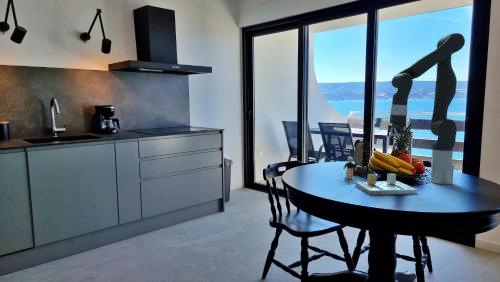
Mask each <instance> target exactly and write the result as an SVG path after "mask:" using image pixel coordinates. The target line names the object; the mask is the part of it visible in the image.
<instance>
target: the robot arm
mask: <svg viewBox="0 0 500 282" xmlns="http://www.w3.org/2000/svg"><path fill="white" fill-rule="evenodd" d="M465 43H466V39H465V36H464V35H463V34H461V33H458V32H454V33H450V34H446V35H443V36H441V37H440V38H439V39H438V41H437V44H436V48H435V49H434V50H433V51H431V52H429V53H428V54H426V55H424V56H422V57H420V58H419V59H417V60H416V61H415V62H414V63H412V64H411V65H410V66H408V67H407V68H405V69H403V70H402V71H400V72H398V73H396V74H395V75H394V76H393V77H392V79H391V85H392V87H393V88H395V89H397V91H396V92H395V93H394V94H393V95H392V101H391V107H390V115H389V124H388V125H387V133H386V136H387V137H388V138H389V139H388V146H394V142H395V137H397V139H398V140H397V146H396V147H397V148H400V149H401V148H403V143H404V140H406V139H407V134H408V127H407V126H404V125H406V124H407V115H408V100H409V96H410V94H411V91H412V87H413V83H414V81H413V80H415V79H418V78H420V77H421V76H423V75H424V74H425V73H426V72H428V71H429V70H430V69H431V68H433V67H434V66H436V78H435V85H434V87H435V88H434V100H433V101H434V102H433V110H432V116H431V120H430V132H431V133H432V134H433V135H434V136H437V140H436V142H434V143H433V144H432V147H431V149H432V151H431V166H430V167H431V168H430V182H431V183H432V184H439V185H451V184H453V183H454V182H453V181H454V169H455V167H454V166H455V165H454V164H453V155H454V154H453V151H454V147H455V145H456V141H457V140H456V138H457V137H456V136H457V128H458V127H457V124H456V122H455V121H454V120H453V119H451V118H448V111H449V106H450V105H451V103H452V102H453V99H454V97H455V95H456V92H457V83H458V82H457V76H456V74H455V71H454V69H453V66H452V57H453V56H452V55H454V54H455V53H457V52H459V51H460V50H462V49H463V48H464V46H465Z"/></svg>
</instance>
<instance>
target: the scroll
mask: <svg viewBox="0 0 500 282" xmlns="http://www.w3.org/2000/svg"><path fill="white" fill-rule="evenodd" d="M353 144H354V145H353V146H354V152H353V153H354V157H353V159H354V161H353V162H354V163H353V164H355V165H356V166H357V170H355V168H353V174H356V175H359V176H360V177H362V176H363V175H368V174H375V173H374V172H373V171H372V170H370V169H369V168H370V166H369V167H368V163H369V159H370V158H369V157H370V156H371V153H370V149H371V143H370V141H368V140H364V141H363V142H362V140H360V139H357V140H356V141H355V142H354V143H353ZM363 155H364V156H365V157H363ZM369 164H370V163H369Z"/></svg>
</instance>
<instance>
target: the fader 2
mask: <svg viewBox="0 0 500 282" xmlns="http://www.w3.org/2000/svg"><path fill="white" fill-rule="evenodd" d="M386 176H387V177H386V181H387V183H389V184H396V181H397V179H396V178H397V174H395V173H387V174H386Z"/></svg>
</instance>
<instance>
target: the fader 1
mask: <svg viewBox="0 0 500 282" xmlns="http://www.w3.org/2000/svg"><path fill="white" fill-rule="evenodd" d="M366 182H367V183H369V184H376V182H377V175H376V174H375V173H374V174H367V181H366Z"/></svg>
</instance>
